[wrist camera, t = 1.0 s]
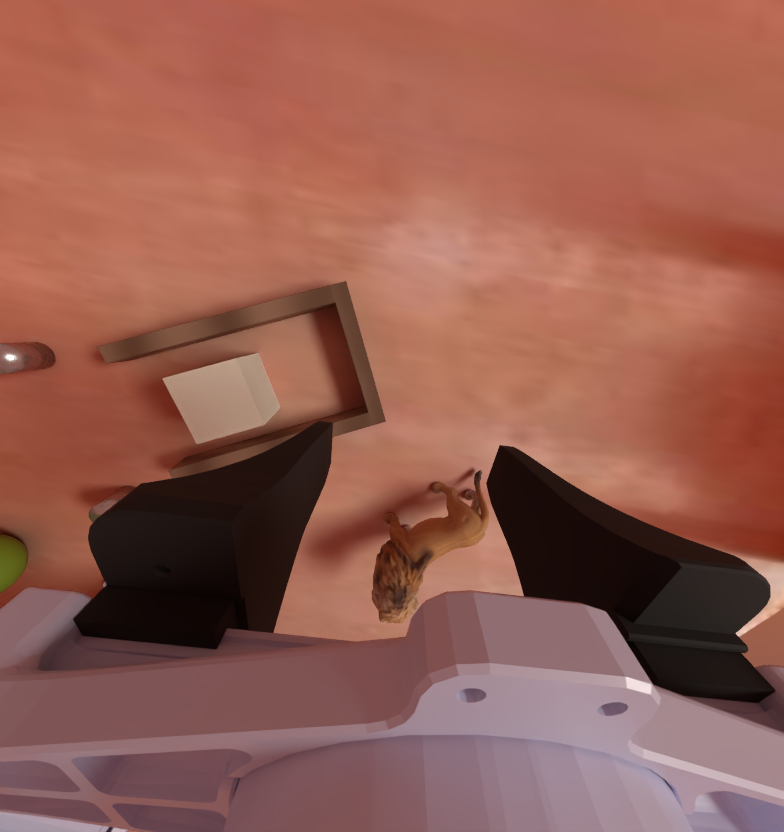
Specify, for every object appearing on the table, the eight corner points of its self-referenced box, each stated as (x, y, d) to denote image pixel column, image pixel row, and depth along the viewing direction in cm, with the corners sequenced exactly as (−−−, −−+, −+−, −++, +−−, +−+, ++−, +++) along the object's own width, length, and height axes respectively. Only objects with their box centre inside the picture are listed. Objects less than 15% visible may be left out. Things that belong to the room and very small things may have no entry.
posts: (125, 507, 26) (97, 529, 23) (17, 346, 21) (-34, 348, 19) (147, 501, 26) (122, 522, 23) (44, 339, 22) (-2, 340, 19)
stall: (191, 469, 26) (175, 482, 24) (123, 345, 22) (96, 346, 20) (382, 413, 27) (385, 421, 24) (346, 286, 23) (346, 281, 21)
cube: (225, 423, 25) (196, 444, 21) (200, 368, 24) (161, 378, 19) (280, 407, 26) (264, 424, 21) (258, 352, 24) (235, 358, 19)
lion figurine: (386, 562, 32) (399, 646, 23) (355, 534, 30) (357, 614, 22) (490, 483, 31) (544, 541, 22) (464, 449, 29) (510, 498, 21)
